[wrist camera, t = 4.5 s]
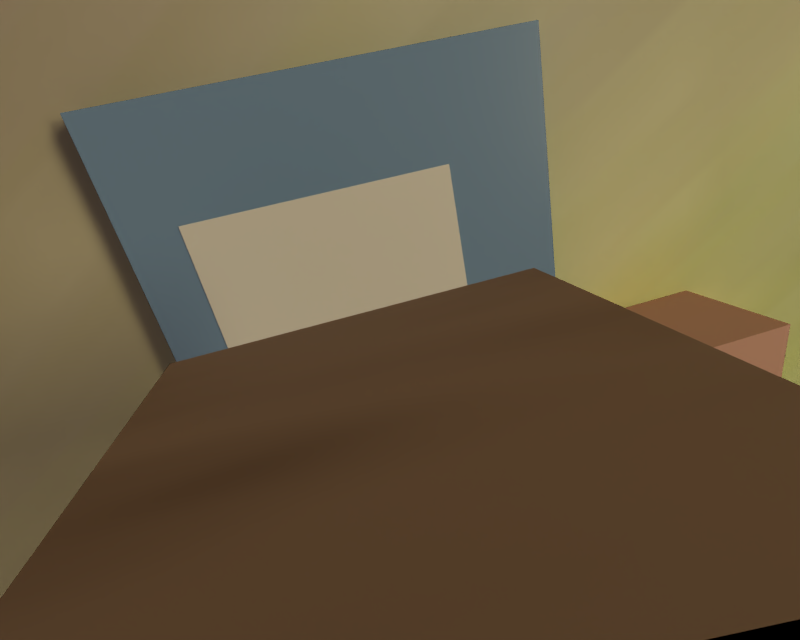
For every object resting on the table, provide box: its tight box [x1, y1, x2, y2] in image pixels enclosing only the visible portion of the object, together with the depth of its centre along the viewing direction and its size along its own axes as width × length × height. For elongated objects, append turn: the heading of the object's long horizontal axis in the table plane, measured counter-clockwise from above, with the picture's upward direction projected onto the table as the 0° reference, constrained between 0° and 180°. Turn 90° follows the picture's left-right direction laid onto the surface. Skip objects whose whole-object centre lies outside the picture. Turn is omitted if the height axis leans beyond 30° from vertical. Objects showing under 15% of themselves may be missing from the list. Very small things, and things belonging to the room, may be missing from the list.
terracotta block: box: [626, 291, 790, 377], centre depth 19 cm, size 5×5×5 cm
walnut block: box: [0, 268, 800, 640], centre depth 6 cm, size 6×6×6 cm
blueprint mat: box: [60, 20, 555, 362], centre depth 17 cm, size 18×16×1 cm
